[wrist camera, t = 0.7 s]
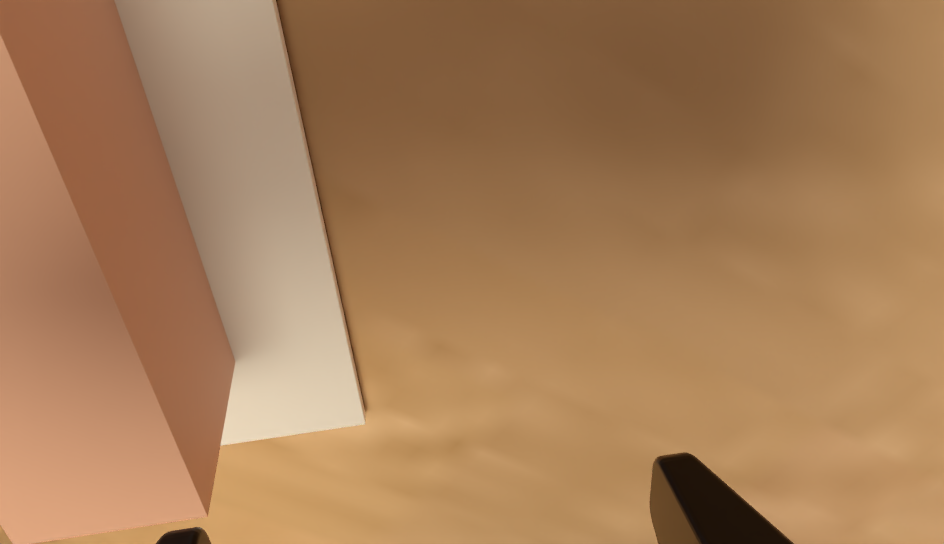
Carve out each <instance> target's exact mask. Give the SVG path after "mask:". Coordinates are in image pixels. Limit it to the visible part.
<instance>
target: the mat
mask: <svg viewBox="0 0 944 544" xmlns="http://www.w3.org/2000/svg"><path fill="white" fill-rule="evenodd" d="M114 1H115V4H116V7H117V10H118V13H119V16H120V19H121V22H122V25H123V28H124V31H125V34H126V37H127V40H128V43H129V46H130V49H131V52H132V55H133V58H134V61H135V64H136V67H137V70H138V73H139V76H140V79H141V82H142V85H143V88H144V91H145V94H146V97H147V100H148V103H149V106H150V109H151V112H152V115H153V118H154V121H155V124H156V127H157V129H158V132H159V135H160V138H161V141H162V144H163V147H164V150H165V153H166V156H167V159H168V162H169V165H170V168H171V171H172V174H173V177H174V180H175V183H176V186H177V189H178V192H179V195H180V198H181V201H182V204H183V207H184V210H185V213H186V216H187V219H188V222H189V225H190V228H191V231H192V234H193V237H194V240H195V243H196V246H197V249H198V252H199V255H200V258H201V261H202V264H203V267H204V270H205V273H206V276H207V279H208V282H209V285H210V288H211V291H212V294H213V297H214V300H215V302H216V305H217V308H218V311H219V314H220V317H221V320H222V323H223V326H224V329H225V332H226V335H227V338H228V341H229V344H230V347H231V350H232V353H233V356H234V359H235V367H234V372H233V378H232V383H231V389H230V395H229V400H228V406H227V411H226V417H225V423H224V428H223V434H222V439H221V445H228V444H235V443H241V442H248V441H255V440H262V439H269V438H275V437H282V436H289V435H296V434H303V433H309V432H316V431H323V430H330V429H337V428H343V427H350V426H357V425H364V424H365V409H364V405H363V400H362V395H361V391H360V386H359V382H358V377H357V372H356V368H355V363H354V359H353V354H352V349H351V345H350V340H349V335H348V331H347V326H346V322H345V317H344V312H343V308H342V303H341V299H340V294H339V289H338V285H337V280H336V275H335V271H334V266H333V262H332V257H331V252H330V248H329V243H328V238H327V234H326V229H325V225H324V220H323V215H322V211H321V206H320V202H319V197H318V192H317V188H316V183H315V178H314V174H313V169H312V165H311V160H310V155H309V151H308V146H307V142H306V137H305V132H304V128H303V123H302V118H301V114H300V109H299V105H298V100H297V95H296V91H295V86H294V82H293V77H292V72H291V68H290V63H289V58H288V54H287V49H286V45H285V40H284V35H283V31H282V26H281V22H280V17H279V12H278V8H277V3H276V0H114ZM221 445H220V446H221Z"/></svg>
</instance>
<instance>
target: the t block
mask: <svg viewBox="0 0 944 544" xmlns="http://www.w3.org/2000/svg"><path fill="white" fill-rule="evenodd" d="M234 367H235V359H234V356H233V353H232V350H231V347H230V344H229V341H228V338H227V335H226V332H225V329H224V326H223V323H222V320H221V317H220V314H219V311H218V308H217V305H216V302H215V300H214V297H213V294H212V291H211V288H210V285H209V282H208V279H207V276H206V273H205V270H204V267H203V264H202V261H201V258H200V255H199V252H198V249H197V246H196V243H195V240H194V237H193V234H192V231H191V228H190V225H189V222H188V219H187V216H186V213H185V210H184V207H183V204H182V201H181V198H180V195H179V192H178V189H177V186H176V183H175V180H174V177H173V174H172V171H171V168H170V165H169V162H168V159H167V156H166V153H165V150H164V147H163V144H162V141H161V138H160V135H159V132H158V129H157V127H156V124H155V121H154V118H153V115H152V112H151V109H150V106H149V103H148V100H147V97H146V94H145V91H144V88H143V85H142V82H141V79H140V76H139V73H138V70H137V67H136V64H135V61H134V58H133V55H132V52H131V49H130V46H129V43H128V40H127V37H126V34H125V31H124V28H123V25H122V22H121V19H120V16H119V13H118V10H117V7H116V4H115V1H114V0H0V525H1V527H2V528H3V530H4V531H5V533H6V534H7V536H8V537H9V539H10V540H11V542H12V543H13V544H34V543H40V542H47V541H53V540H60V539H66V538H73V537H79V536H86V535H92V534H99V533H105V532H112V531H118V530H125V529H131V528H138V527H144V526H151V525H157V524H164V523H170V522H177V521H183V520H190V519H196V518H202V517H208V512H209V506H210V501H211V495H212V489H213V484H214V478H215V473H216V467H217V462H218V456H219V450H220V445H221V439H222V434H223V428H224V423H225V417H226V411H227V406H228V400H229V395H230V389H231V383H232V378H233V372H234Z"/></svg>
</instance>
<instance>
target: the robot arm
mask: <svg viewBox="0 0 944 544" xmlns="http://www.w3.org/2000/svg"><path fill="white" fill-rule="evenodd" d="M650 513H651V518H652V522H653V526H654V530H655V533H656V537H657V540H658V544H794V543H793V542H791V541H790V540H789V539H788V538H787V537H786V536H785V535H783V534H782V533H781V532H780V531H779V530H778V529H777V528H776V527H774V526H773V525H772V524H771V523H770V522H769V521H768V520H766V519H765V518H764V517H763V516H762V515H761V514H760V513H759V512H757V511H756V510H755V509H754V508H753V507H752V506H751V505H749V504H748V503H747V502H746V501H745V500H744V499H743V498H741V497H740V496H739V495H738V494H737V493H736V492H735V491H734V490H732V489H731V488H730V487H729V486H728V485H727V484H726V483H724V482H723V481H722V480H721V479H720V478H719V477H718V476H717V475H715V474H714V473H713V472H712V471H711V470H710V469H709V468H707V467H706V466H705V465H704V464H703V463H702V462H701V461H700V460H698V459H697V458H696V457H695V456H693V455H692V454H689V453H677V454H670V455H664V456H659V457H657V458H656V459H655V461H654V463H653V470H652V481H651V492H650ZM156 544H211V542H210V540H209V537H208V535H207V533H206V532H205V530H203V529H202V528H200V527H194V528H188V529H181V530H175V531H170V532H167V533H166V534H164V535H163V536H162V537H161V538H160V539H159V540H158V542H157V543H156Z"/></svg>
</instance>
